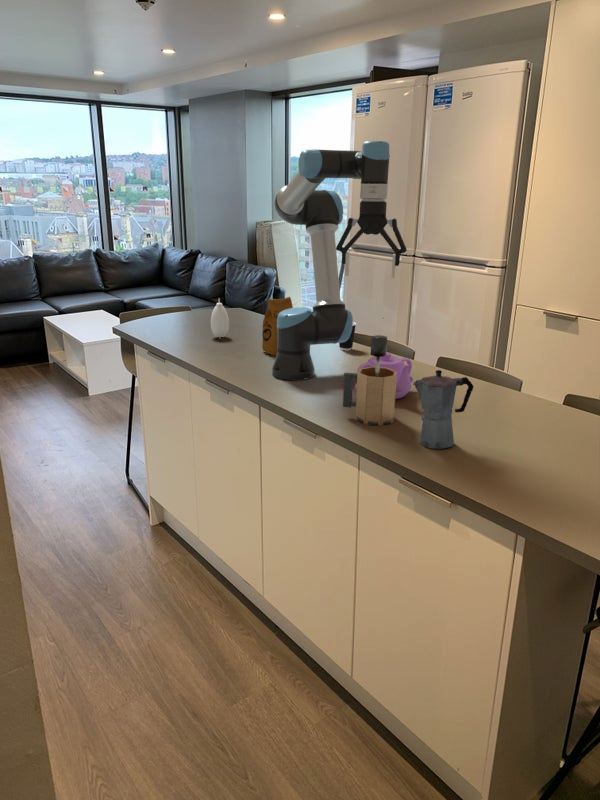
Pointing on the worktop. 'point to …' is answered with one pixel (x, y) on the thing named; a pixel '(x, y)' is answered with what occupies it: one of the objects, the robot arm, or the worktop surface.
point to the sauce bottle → (219, 321)
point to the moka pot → (439, 408)
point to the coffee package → (273, 323)
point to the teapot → (395, 364)
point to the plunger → (378, 350)
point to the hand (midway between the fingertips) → (369, 276)
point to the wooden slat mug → (372, 395)
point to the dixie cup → (349, 343)
